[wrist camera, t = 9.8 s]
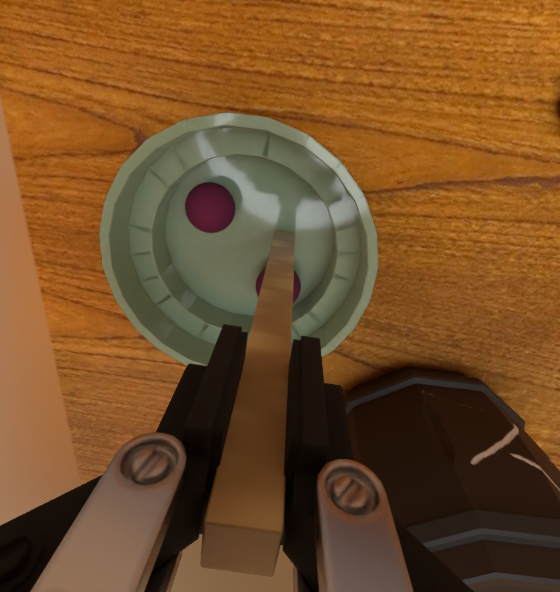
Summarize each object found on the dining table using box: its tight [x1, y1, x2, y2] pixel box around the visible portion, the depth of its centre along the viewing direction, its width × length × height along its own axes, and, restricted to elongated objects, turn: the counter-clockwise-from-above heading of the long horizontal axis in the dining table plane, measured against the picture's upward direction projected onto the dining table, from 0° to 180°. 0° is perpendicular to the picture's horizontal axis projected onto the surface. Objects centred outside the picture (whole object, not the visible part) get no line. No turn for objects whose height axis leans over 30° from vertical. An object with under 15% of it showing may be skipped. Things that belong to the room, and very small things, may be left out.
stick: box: [200, 230, 295, 577], centre depth 15 cm, size 1×1×20 cm
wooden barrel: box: [344, 367, 560, 592], centre depth 27 cm, size 18×18×16 cm
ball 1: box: [185, 182, 235, 233], centre depth 23 cm, size 3×3×3 cm
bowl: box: [99, 112, 378, 366], centre depth 24 cm, size 16×16×6 cm
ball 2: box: [256, 268, 301, 303], centre depth 25 cm, size 3×3×3 cm
